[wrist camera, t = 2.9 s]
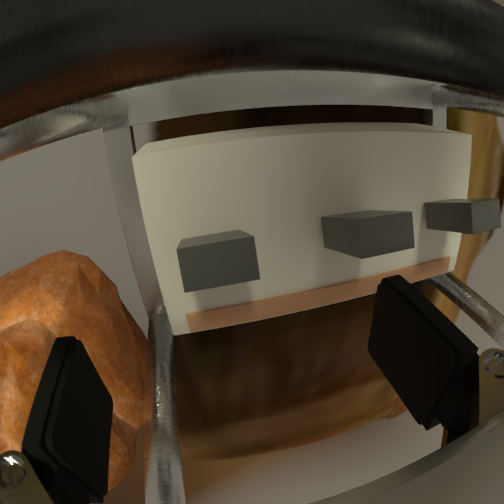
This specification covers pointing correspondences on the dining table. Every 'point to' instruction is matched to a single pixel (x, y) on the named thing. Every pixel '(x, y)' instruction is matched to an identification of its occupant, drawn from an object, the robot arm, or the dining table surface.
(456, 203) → the grey matte cuboid
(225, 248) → the grey rectangular block
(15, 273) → the bread
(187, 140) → the switch box
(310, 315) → the dining table surface
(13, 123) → the frame
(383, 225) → the dark grey rectangular box
